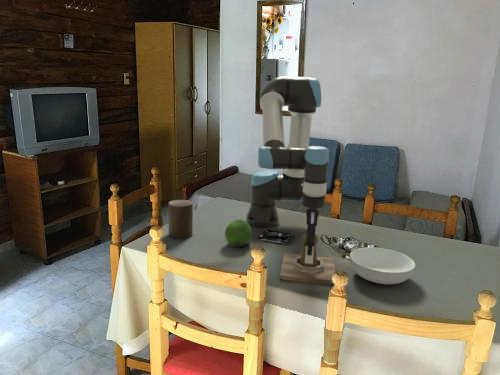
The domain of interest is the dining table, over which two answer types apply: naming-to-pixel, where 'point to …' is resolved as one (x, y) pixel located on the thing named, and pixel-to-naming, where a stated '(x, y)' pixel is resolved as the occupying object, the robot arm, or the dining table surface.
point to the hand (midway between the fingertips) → (308, 259)
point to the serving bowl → (381, 265)
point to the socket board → (307, 270)
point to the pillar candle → (180, 219)
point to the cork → (302, 259)
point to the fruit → (238, 233)
